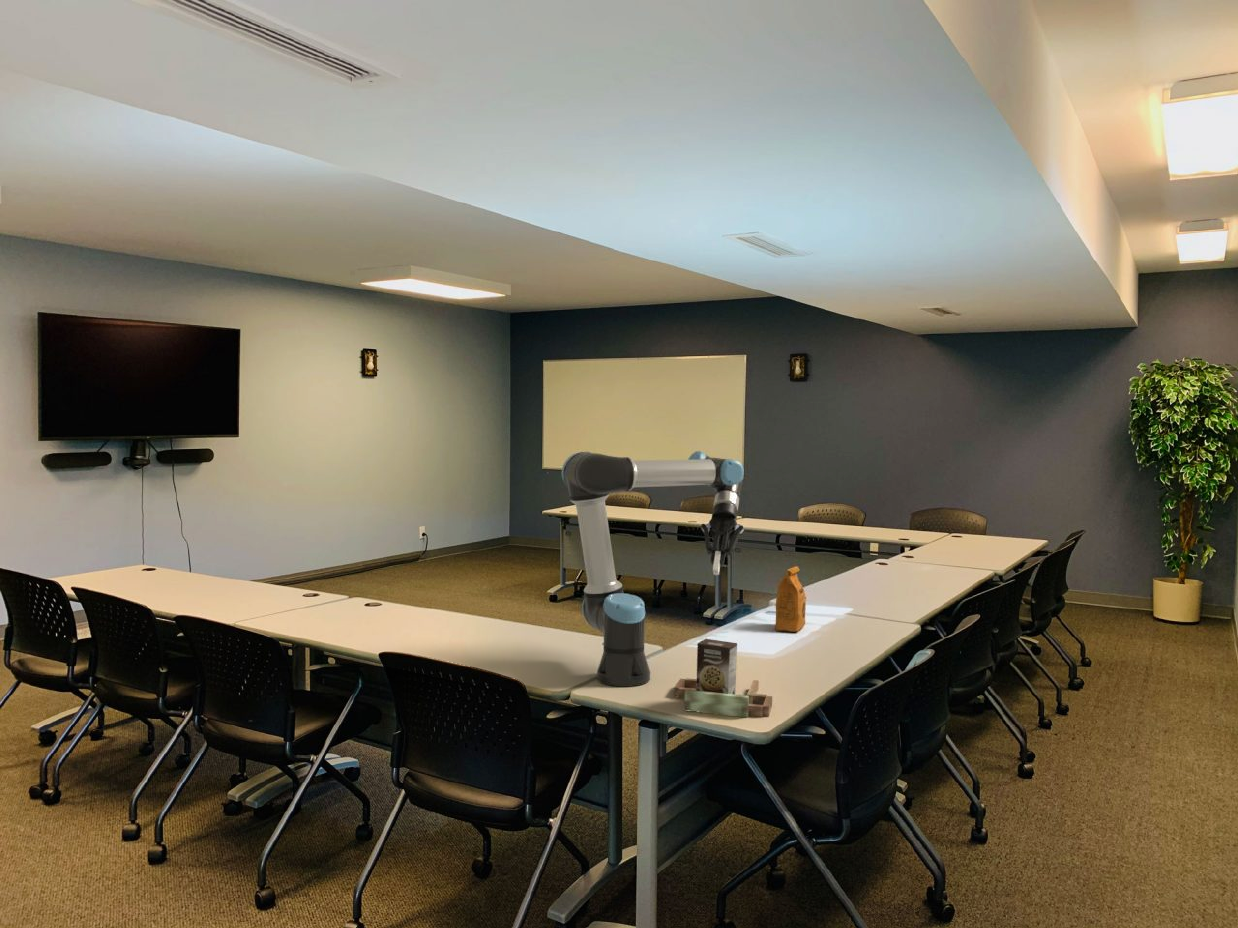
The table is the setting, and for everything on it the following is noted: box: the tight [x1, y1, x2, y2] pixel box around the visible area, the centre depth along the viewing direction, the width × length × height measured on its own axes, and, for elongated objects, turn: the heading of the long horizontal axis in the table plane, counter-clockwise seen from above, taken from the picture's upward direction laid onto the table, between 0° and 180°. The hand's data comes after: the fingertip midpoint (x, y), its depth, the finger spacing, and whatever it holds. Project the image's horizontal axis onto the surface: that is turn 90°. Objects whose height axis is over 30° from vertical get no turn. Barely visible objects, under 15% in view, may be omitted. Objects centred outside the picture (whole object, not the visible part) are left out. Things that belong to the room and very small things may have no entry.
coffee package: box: [775, 565, 807, 633], centre depth 308 cm, size 10×12×22 cm
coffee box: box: [696, 638, 738, 695], centre depth 226 cm, size 9×6×16 cm
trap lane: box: [673, 677, 773, 718], centre depth 230 cm, size 26×24×5 cm
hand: (715, 572), depth 251 cm, fingers closed
